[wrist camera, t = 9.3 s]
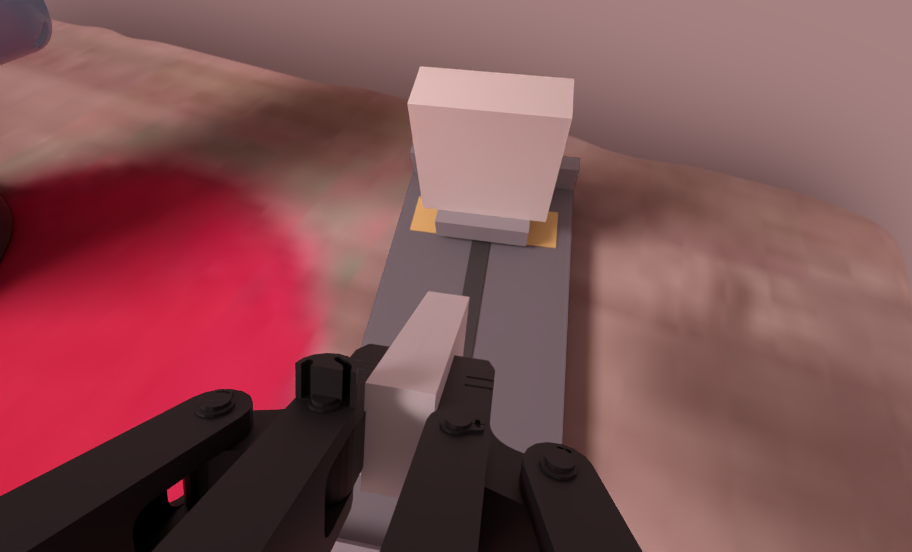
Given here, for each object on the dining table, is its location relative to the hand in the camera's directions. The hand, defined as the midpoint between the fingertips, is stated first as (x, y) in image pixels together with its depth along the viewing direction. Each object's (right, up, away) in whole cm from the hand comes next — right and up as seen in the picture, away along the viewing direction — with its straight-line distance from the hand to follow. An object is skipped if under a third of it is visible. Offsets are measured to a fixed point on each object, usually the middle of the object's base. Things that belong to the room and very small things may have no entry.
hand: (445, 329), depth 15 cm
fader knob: (+2, +6, +14) cm, 16 cm away
